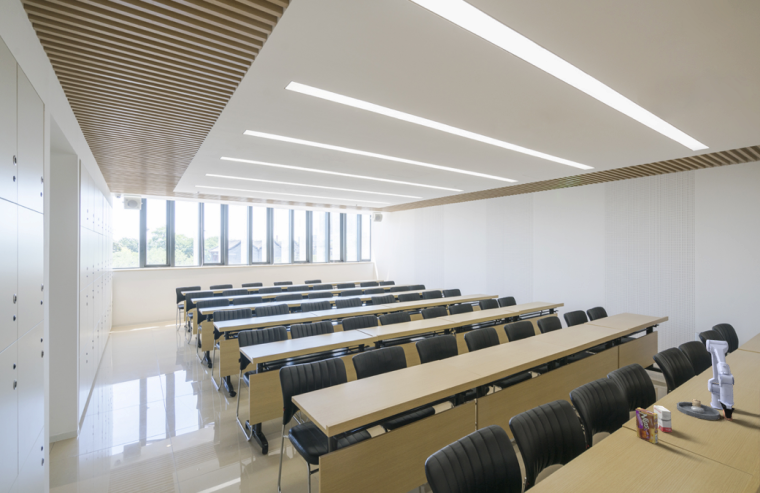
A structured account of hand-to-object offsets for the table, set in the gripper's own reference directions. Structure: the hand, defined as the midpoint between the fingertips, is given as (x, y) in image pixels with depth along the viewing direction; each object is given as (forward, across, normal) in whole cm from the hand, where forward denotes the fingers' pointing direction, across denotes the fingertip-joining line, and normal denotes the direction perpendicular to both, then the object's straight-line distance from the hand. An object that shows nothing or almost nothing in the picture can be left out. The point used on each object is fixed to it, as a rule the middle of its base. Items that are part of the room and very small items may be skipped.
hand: (727, 416), depth 209 cm
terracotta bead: (+1, 0, 0) cm, 1 cm away
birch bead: (+1, -7, -14) cm, 15 cm away
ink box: (+2, +39, -32) cm, 50 cm away
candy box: (+2, +59, -38) cm, 70 cm away
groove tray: (+1, -1, -14) cm, 14 cm away
